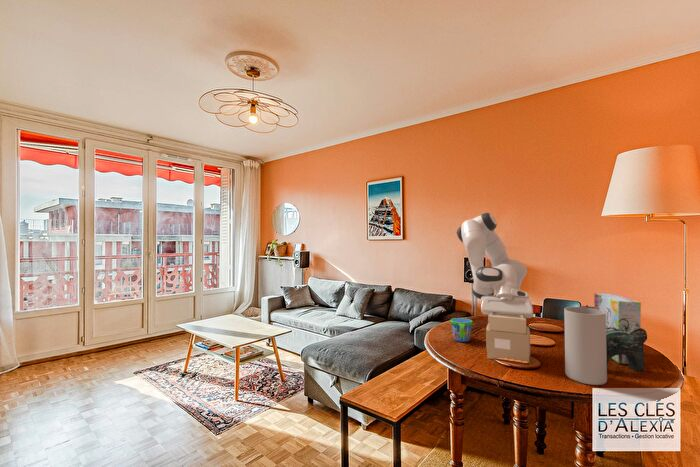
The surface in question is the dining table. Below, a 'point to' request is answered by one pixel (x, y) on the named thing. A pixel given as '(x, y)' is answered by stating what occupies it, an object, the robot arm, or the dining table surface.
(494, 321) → the flap
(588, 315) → the cylinder vase
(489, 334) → the carton
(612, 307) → the snack box
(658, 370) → the dining table surface
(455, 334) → the snack cup
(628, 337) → the game controller
